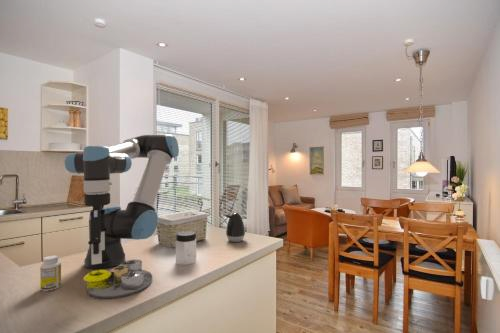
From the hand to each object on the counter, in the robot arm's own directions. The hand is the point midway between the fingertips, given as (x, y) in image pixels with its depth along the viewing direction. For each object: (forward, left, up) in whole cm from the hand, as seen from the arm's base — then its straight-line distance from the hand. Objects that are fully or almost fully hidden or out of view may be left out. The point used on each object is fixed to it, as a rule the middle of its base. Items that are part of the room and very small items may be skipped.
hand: (98, 256), depth 90 cm
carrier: (+5, +4, -10) cm, 12 cm away
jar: (+13, +31, -11) cm, 36 cm away
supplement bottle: (-15, -6, -11) cm, 19 cm away
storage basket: (-7, +57, -11) cm, 58 cm away
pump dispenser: (+20, +67, -11) cm, 71 cm away
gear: (0, 0, -9) cm, 9 cm away
